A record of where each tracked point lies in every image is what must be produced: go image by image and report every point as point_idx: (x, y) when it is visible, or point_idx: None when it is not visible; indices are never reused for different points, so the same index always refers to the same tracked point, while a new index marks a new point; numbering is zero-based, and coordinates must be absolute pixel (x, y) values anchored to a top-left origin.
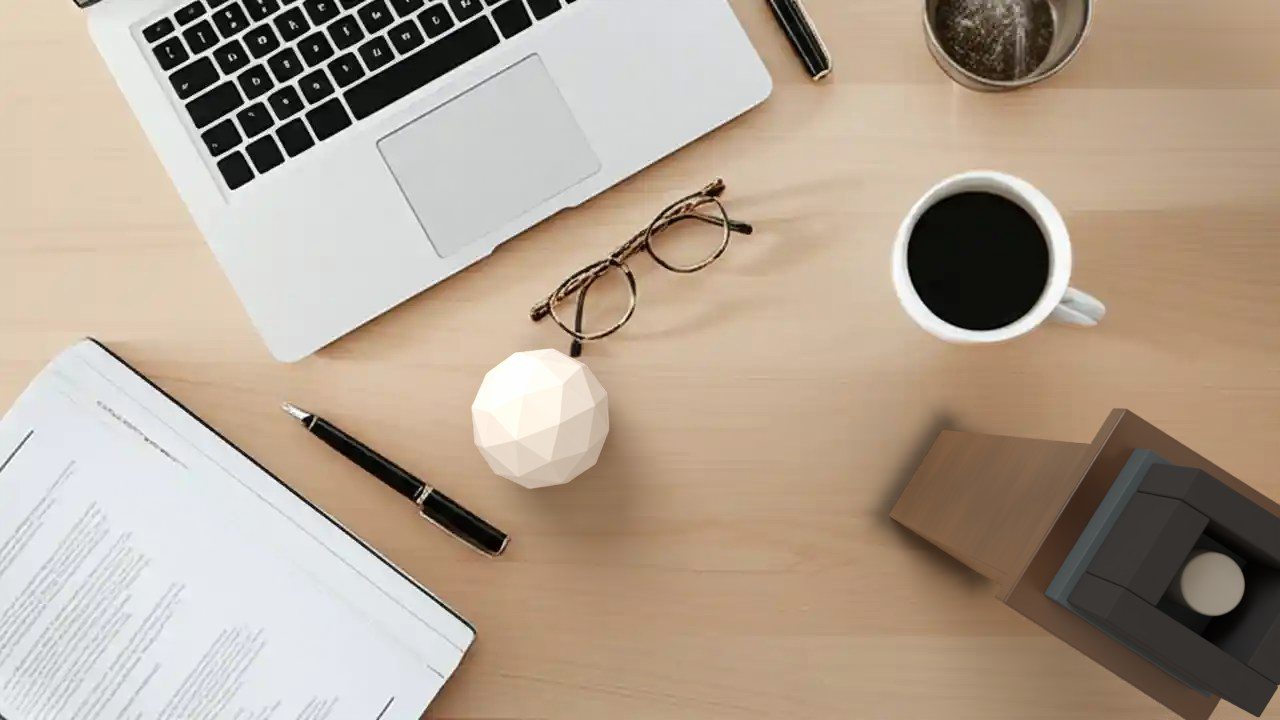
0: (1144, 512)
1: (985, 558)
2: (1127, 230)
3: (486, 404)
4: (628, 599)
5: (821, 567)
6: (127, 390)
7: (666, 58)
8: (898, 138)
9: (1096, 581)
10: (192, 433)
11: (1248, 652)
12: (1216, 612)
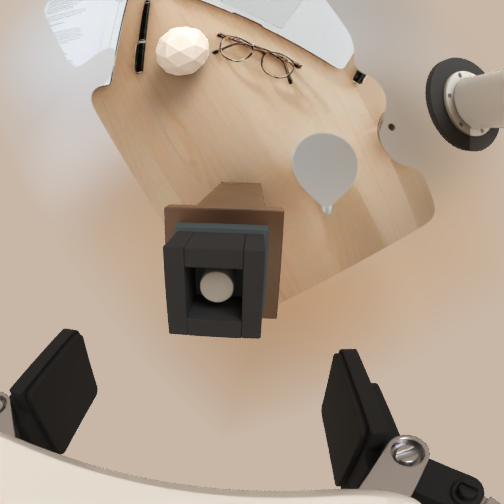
0: (232, 240)
1: (200, 203)
2: (359, 208)
3: (174, 29)
4: (144, 118)
5: (191, 171)
6: None
7: (330, 32)
8: (350, 117)
9: (187, 237)
10: None
11: (194, 316)
12: (204, 295)
